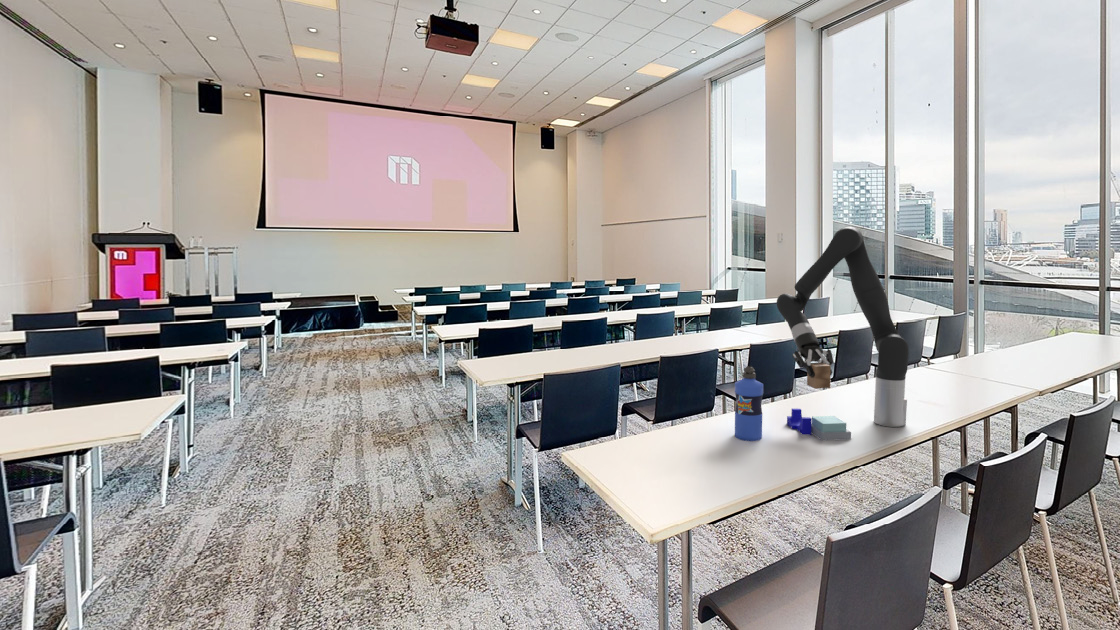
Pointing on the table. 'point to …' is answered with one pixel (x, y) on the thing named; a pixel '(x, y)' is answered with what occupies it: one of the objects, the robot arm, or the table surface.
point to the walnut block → (819, 376)
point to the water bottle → (748, 407)
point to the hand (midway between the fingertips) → (821, 375)
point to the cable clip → (799, 422)
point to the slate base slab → (830, 434)
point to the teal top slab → (828, 424)
